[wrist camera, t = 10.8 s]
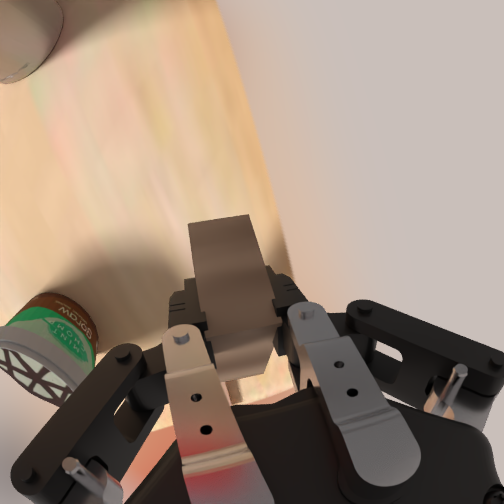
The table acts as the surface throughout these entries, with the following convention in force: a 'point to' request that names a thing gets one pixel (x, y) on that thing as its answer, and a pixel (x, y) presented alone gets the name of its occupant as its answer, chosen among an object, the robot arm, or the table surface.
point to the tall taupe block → (234, 295)
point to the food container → (49, 347)
